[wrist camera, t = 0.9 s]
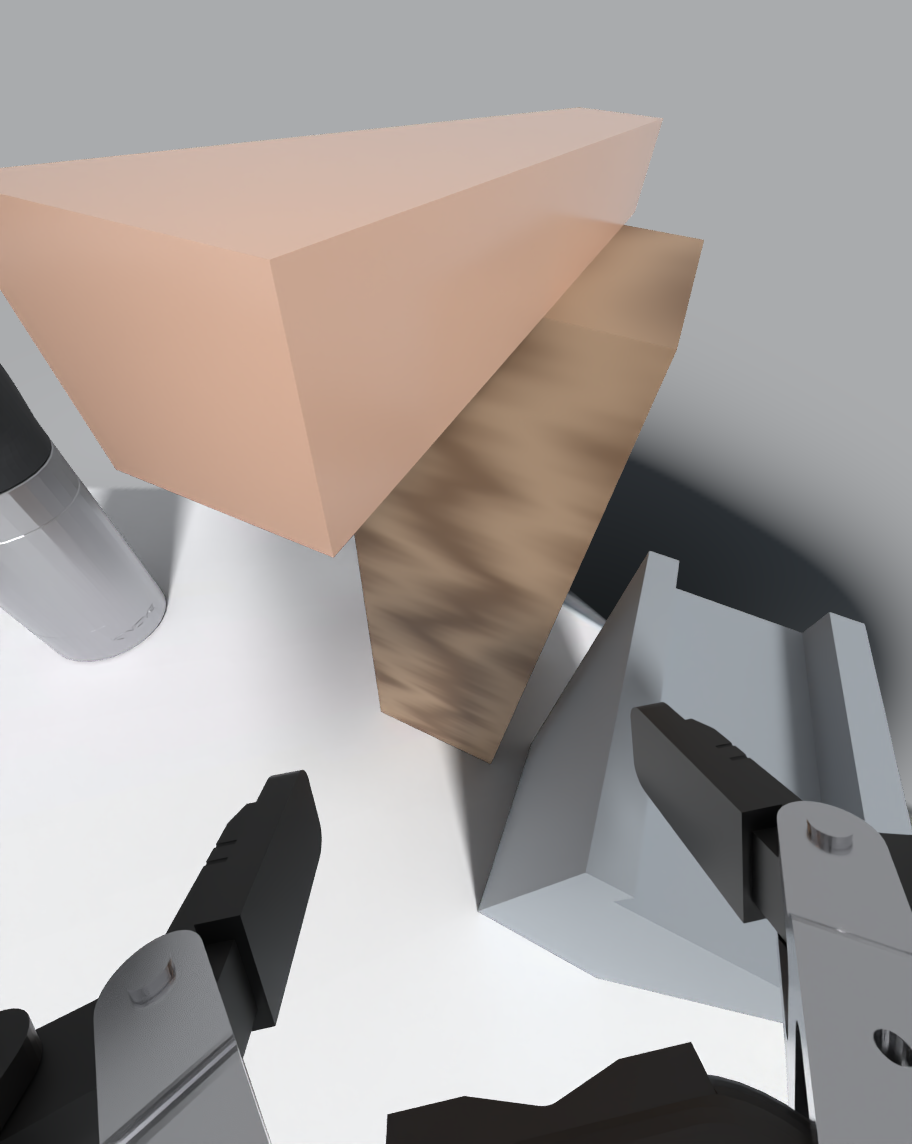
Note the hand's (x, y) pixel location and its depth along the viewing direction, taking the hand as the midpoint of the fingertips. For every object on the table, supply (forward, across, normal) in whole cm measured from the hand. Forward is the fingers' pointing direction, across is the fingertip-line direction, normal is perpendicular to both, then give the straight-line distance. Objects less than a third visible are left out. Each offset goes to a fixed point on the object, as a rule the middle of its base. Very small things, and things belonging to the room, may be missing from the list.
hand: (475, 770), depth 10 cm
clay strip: (+5, -4, -13) cm, 14 cm away
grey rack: (+17, -6, +20) cm, 26 cm away
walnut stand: (+27, -1, +10) cm, 29 cm away
